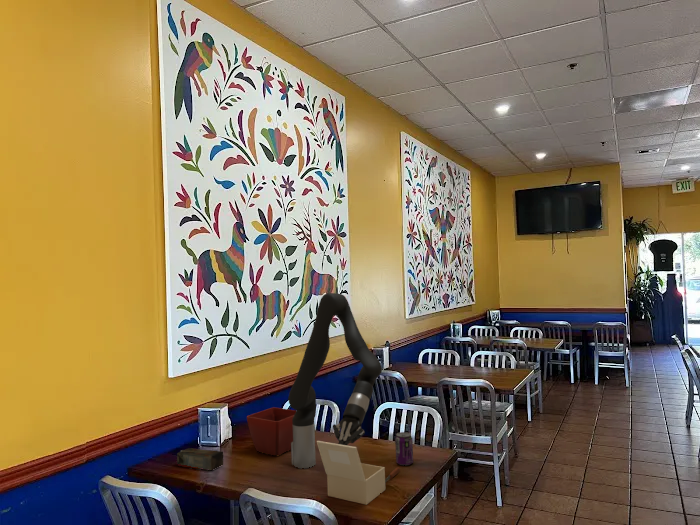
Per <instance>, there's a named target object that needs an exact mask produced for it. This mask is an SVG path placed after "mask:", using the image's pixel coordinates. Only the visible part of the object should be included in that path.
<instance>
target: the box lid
mask: <svg viewBox="0 0 700 525" xmlns="http://www.w3.org/2000/svg"><path fill="white" fill-rule="evenodd" d="M316 444H317V449H318V450H319V454H320V458H321V462H322V464H323V469H324V471H325V474H326V475H327V474H329V475H334V476H339V477H343V478H348V479H353V480H358V481H363V482H365V481H366V480H365V476H364V473H363V469H362V465H361V463H362V462H361V458H360V455H359V451H358V447H357V446H354V445H353V446H352V445H341V444H338V443H334V442H329V441H328V442H326V441H322V440H316Z"/></svg>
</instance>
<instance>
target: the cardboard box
mask: <svg viewBox="0 0 700 525" xmlns="http://www.w3.org/2000/svg"><path fill="white" fill-rule="evenodd" d="M361 465H362V469H363V473H364V476H365V480H366V481H365V482H363V481H358V480H353V479H348V478H343V477H339V476H334V475H329V474H326V478H327V479H326V480H327V482H326V483H327V496H328V497H332V498H336V499H340V500H345V501H349V502H354V503H358V504H362V505H368V504H369V503H371V502H372V501H374V499H375V498H377V497H378V496H379V495H380V493H381V494H382V493H383V492H384V491H386V482H385V479H386V472H385V471H386V467H385V466H381V465H380V466H378V465H374V464H369V463H363V462H361Z"/></svg>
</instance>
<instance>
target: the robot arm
mask: <svg viewBox="0 0 700 525" xmlns="http://www.w3.org/2000/svg"><path fill="white" fill-rule="evenodd" d="M316 311H317V312H316V315H315V316H316V317H315V321H314V324H313V327H312V330H311V332H310V333H311V334H310V337H309V339H308V342H307V345H306V348H305V350H304V353H303V358H302V360H301V362H300V366H299V369H298V373H297V375H296V377H295V380H294V382H293V384H292V386H291V389H290V391H289V393H288V397H287V398H288V404H289V406H290V407H291V408H292V410H295V411H296V413H295V415H294V416H293V419H292V424H293V442H291V450H290V451H291V466H293V465H294V466H295V468H296V467H298V469H302V468H304V469H310V468H313V467H314V465H315V466H316V464H317V463H316V440H315V439H316V437H315V436H316V434H315V432H316V431H315V418H316V413H317V396H316V391H315V388H314V387H313V386H312V384H313V382H314V380H315V378H316V376H317V375H318V373H319V372H320V371H321V369H322V367H323V365H324V364H325V361H326V360H327V356H328V354H329V350H330V347H331V341H330V327H331V323H332V320H333V318H334V316H336V317H337V318H338V320H339V321H340V323H341V326H342V328H343V333H344V340H345V344H346V346H347V349H348V350H349V352H350V354H351V356H352V357H353V360H355V361H356V362H357V361H358V362H359V361H360V363H361V365H362V367H361V369H360V371H359V373H358V376H357V380H356V384H355V386H354V388H353V391H352V393H351V396H349V399H348V401H347V404H346V405H345V406H346V407H345V408H344V411H343V414H342V418H341V420H340V421H339V423H338V424H335V423H334V424H333V425H332V429H333V433H334V435H335V438H336V439H337V440H338V443H337V444H341V445H347V446H349V444H355V442H357V441H358V440H359V439H361V437H363V436H364V435H365V430H364V429H363V428H362V424H363V422H364V419H365V417H366V414H367V411H368V409H369V405H370V401H371V397H372V396H373V392H374V384H375V382H376V380H377V379H378V377H380V375H381V374H382V371H383V368H382V364H381V361H380V360H379V359H378V357H377V356H376V355H375V354H374V353H373V352H372V350H370V349H369V347H368V345H367V343H366V341H365V340H364V337H363V336H362V334H361V332H360V330H359V328H358V325H357V323H356V320H355V318H354V314H353V312H352V309H351V306H350V303H349V301H348V299H347V298H346V296H345V295H344V294H341V293H335V292H328V293H327V292H326V293H325V294H324V295H322V297H321V298H320V300H319V303H318V307H317V310H316ZM294 466H293V467H294ZM312 466H313V467H312ZM309 467H310V468H309Z"/></svg>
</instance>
